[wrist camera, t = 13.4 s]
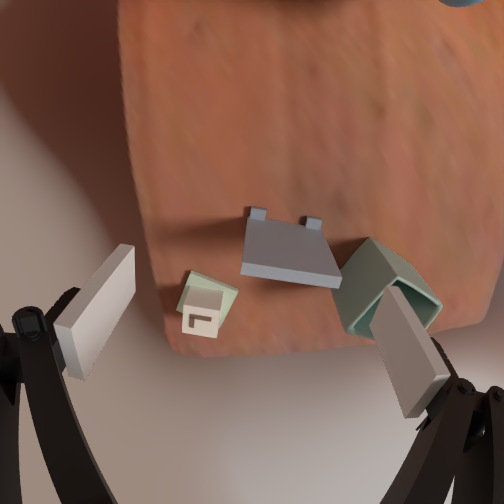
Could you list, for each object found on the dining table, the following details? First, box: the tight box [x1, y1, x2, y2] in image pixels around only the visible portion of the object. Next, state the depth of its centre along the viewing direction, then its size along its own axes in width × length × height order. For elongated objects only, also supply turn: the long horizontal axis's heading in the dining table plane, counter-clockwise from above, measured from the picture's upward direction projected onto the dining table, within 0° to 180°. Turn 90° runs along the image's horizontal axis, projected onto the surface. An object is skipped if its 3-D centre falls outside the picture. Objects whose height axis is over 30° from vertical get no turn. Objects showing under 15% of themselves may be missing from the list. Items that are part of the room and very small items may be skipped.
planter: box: [330, 237, 443, 340], centre depth 44 cm, size 16×8×20 cm, turn 104°
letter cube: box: [182, 285, 224, 338], centre depth 54 cm, size 6×6×6 cm
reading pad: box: [176, 270, 238, 327], centre depth 57 cm, size 9×9×1 cm
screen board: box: [240, 206, 343, 289], centre depth 44 cm, size 12×5×16 cm, turn 81°
